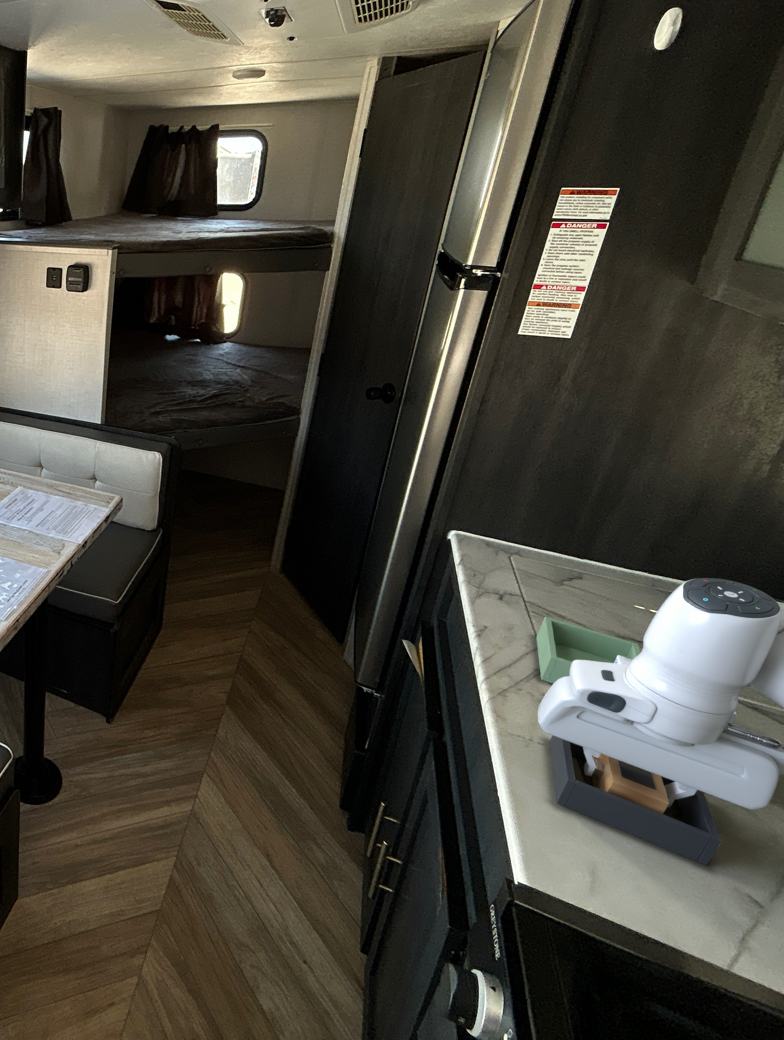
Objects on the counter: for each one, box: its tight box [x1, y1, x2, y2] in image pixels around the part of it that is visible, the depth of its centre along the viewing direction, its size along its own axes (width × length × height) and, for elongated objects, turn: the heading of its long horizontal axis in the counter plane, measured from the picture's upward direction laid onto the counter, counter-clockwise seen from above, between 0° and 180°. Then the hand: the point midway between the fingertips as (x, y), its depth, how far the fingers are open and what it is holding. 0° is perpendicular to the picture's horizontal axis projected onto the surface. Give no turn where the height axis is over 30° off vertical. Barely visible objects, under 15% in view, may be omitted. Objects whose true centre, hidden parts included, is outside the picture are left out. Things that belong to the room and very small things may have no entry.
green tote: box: [535, 616, 642, 685], centre depth 100 cm, size 12×13×4 cm
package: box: [591, 754, 669, 815], centre depth 80 cm, size 5×8×5 cm, turn 144°
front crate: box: [549, 735, 722, 866], centre depth 80 cm, size 13×12×4 cm
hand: (624, 787), depth 80 cm, fingers closed on package, 5 cm apart
